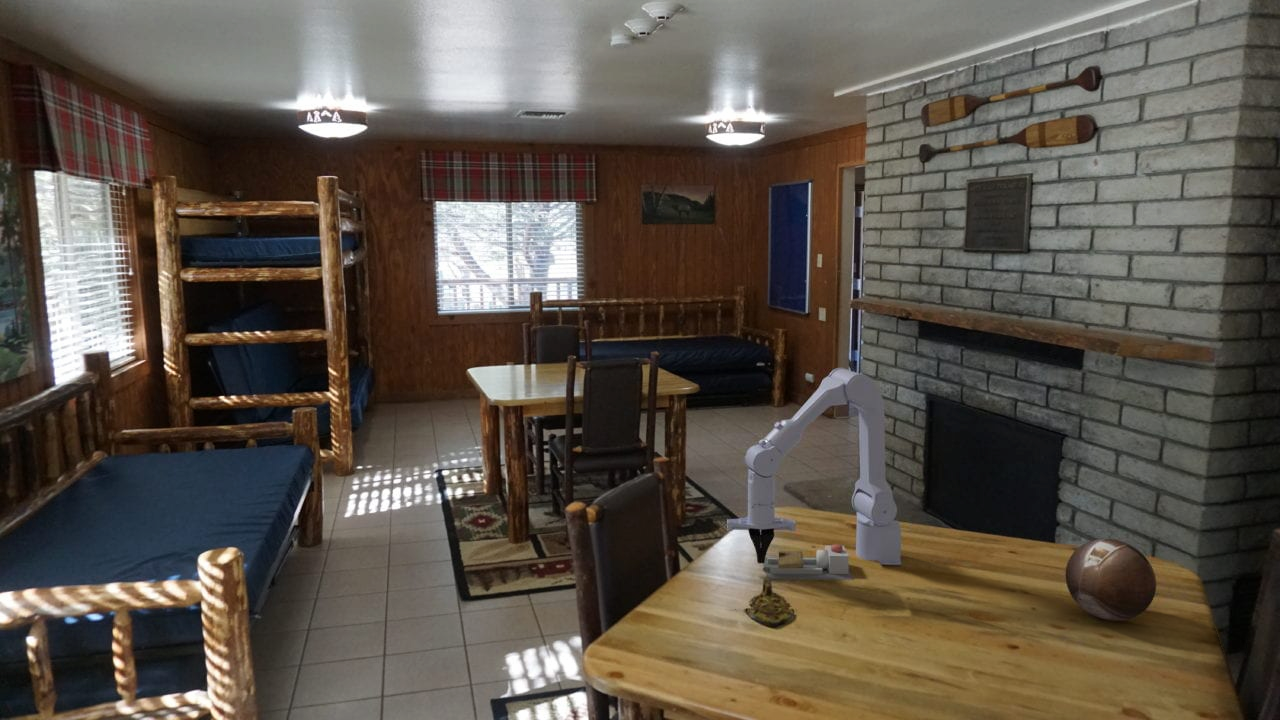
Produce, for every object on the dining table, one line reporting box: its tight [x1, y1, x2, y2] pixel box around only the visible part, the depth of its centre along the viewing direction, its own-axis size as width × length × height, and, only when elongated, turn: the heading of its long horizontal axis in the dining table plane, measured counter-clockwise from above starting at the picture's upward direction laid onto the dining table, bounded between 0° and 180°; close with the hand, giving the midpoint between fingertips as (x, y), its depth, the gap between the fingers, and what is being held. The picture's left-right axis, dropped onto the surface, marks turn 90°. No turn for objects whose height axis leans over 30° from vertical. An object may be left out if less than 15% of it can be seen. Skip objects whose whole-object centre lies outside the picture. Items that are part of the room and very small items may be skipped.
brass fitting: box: [777, 550, 804, 568], centre depth 183 cm, size 5×4×4 cm
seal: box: [744, 578, 795, 628], centre depth 166 cm, size 9×5×15 cm
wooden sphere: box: [1065, 538, 1157, 622], centre depth 161 cm, size 15×15×15 cm
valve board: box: [762, 543, 854, 581], centre depth 183 cm, size 18×12×6 cm, turn 87°
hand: (760, 561), depth 184 cm, fingers closed
